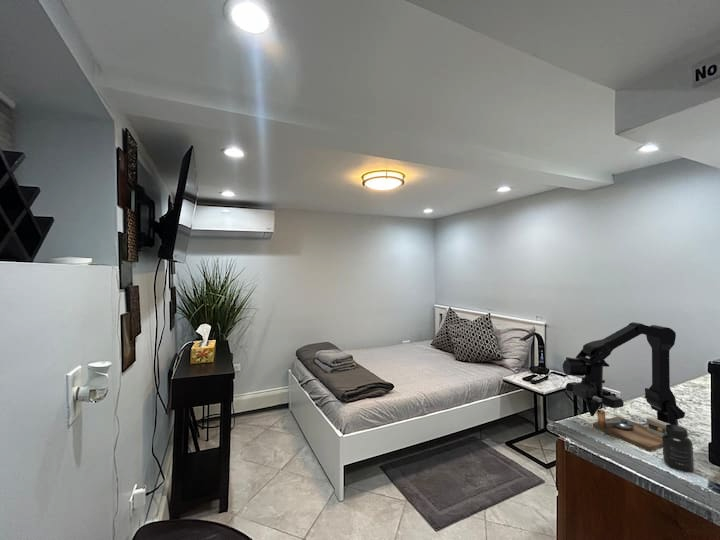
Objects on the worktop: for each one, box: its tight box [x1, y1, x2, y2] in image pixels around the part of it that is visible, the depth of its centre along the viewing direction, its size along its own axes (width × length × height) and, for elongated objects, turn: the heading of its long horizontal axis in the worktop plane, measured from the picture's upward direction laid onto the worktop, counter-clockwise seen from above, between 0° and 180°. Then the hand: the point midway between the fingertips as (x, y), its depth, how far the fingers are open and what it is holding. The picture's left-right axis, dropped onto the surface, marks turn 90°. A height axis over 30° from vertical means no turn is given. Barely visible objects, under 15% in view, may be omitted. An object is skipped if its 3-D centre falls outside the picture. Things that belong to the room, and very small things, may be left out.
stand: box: [592, 415, 669, 453], centre depth 119 cm, size 15×19×6 cm
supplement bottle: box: [662, 424, 695, 473], centre depth 99 cm, size 7×7×12 cm
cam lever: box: [596, 409, 634, 430], centre depth 122 cm, size 13×7×6 cm, turn 93°
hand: (592, 415), depth 124 cm, fingers closed
